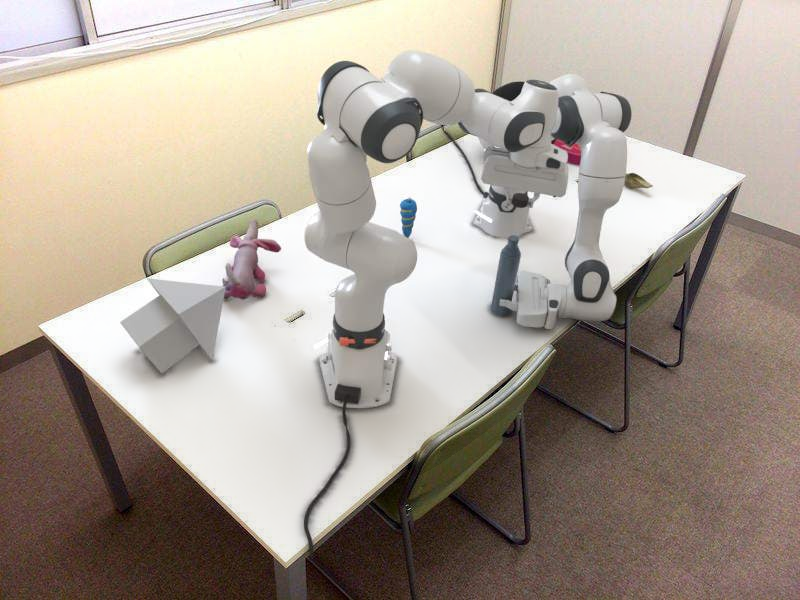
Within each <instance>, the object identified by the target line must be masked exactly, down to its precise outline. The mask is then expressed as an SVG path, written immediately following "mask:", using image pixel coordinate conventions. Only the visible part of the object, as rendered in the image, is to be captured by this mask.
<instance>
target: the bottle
mask: <svg viewBox="0 0 800 600" xmlns="http://www.w3.org/2000/svg"><path fill="white" fill-rule="evenodd" d="M519 237H520V236H515V235H511V236H509V237H508V238H507V243H506V244H505V246H504V247H503V248H502V249H501V251H500V254H499V259H498V265H497V269H496V270H497V271H496V276H495V281H494V287H493V288H494V289H493V292H492V293H493V294H492V299H491V305H490V311H491V312H492V313H493V314H494V315H496V316H502V317H503V316H507V315H508V314H510V313H511V309H509V308H507V307H505V306H500V305H499V303H500V298H501V297H502V298H507V300H509V301H511V302H513V299H514V293H515V291H514V288H515V283H516V280H517V275H518V272H519V268H520V264H521V257H522V253H521V250H520V247H519V242H520V238H519Z"/></svg>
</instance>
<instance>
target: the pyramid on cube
mask: <svg viewBox="0 0 800 600" xmlns="http://www.w3.org/2000/svg"><path fill="white" fill-rule="evenodd" d="M146 280H147V281H148V283H149V284H150V285H151V286H152V288H153V289H154V290H155V292H156V293H157V295H158V296H156V297H154V298H153V299H151V301H149V302H148V303H146V304H145V305H143V306H142V307H140V308H138V309H137V310H136V311H134V312H132V313H131V314H130V315H128V316H126V317H125V318H124V319H122V320H121V321H120V322H119V324H120V325H121V326H122V328H124V330H125V331H126V332H127V334H128V335H129V337H130V338H131V339H132V341H133V342H134V343H135V344H136V346H137V347H138V348H139V349H140V350H141V352H142V353H143V354H144V355H145V356H146V358H148V360H149V361H150V362H151V363H152V365H153V366H155V368H156V369H157V370H158V371H159V372H160V374H164V373H165V372H166V371H167V370H169V369H170V368H171V367H173V366H174V365H175V364H176V363H178V362H179V361H181V360H182V359H183V358H184V357H185V356H187V355H188V354H189V353H191V352H192V351H193V350H195V349H196V348H197V347H198V346H199V347H200V348H201V350H203V351H204V353H205V354H206V355H207V356H208V358H209V359H210V360H211V361H213V360H214V354H215V348H216V344H217V338H218V332H219V328H220V327H219V326H220V323H221V322H220V321H221V316H222V310H223V304H224V299H225V298H224V294H225V288H226V287H223V286H222V285H215V284H213V285H212V284H203V283H194V282H186V281H185V282H184V281H177V280H176V281H175V280H167V279H157V278H148V277H146Z"/></svg>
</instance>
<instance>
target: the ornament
mask: <svg viewBox="0 0 800 600" xmlns="http://www.w3.org/2000/svg"><path fill="white" fill-rule="evenodd" d="M399 207H400V211H399V212H400V213H399V214H400V216H401V218H400V222H401V230H402V235H404V236H406V237H407V238H410V236H411V234H412V232H413V227H414V223H415V220H416V218H417V217H416V214H417V212H418V205H417V202H416V200H414V199H412V197H411V196H410V195H409V197H408V198H405V199H403V200H401V201H400V204H399Z"/></svg>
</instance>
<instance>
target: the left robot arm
mask: <svg viewBox="0 0 800 600" xmlns="http://www.w3.org/2000/svg"><path fill="white" fill-rule="evenodd" d="M385 72H386V73H385V75H384V76H381V77H380V78H379V77H377V76H376V75H375V74H373V73H371V72H370V71H369V69H367V67H365V66H363V65H362V64H359V63H357V62H354V61H350V60H341V61H336V62H335V63H333V64H332V65H330V66H329V67H328V68H327V69H326V70H325V71H324V72H323V74H322V76H321V78H320V81H319V83H318V87H317V103H318V105H317V110H316V116H317V117H316V118H317V120H318V121H319V122H320V123H321V124H322V125H323V126H324V128H323V129H322V131H320V132H319V133H318V134H316V135H314V137H313V138H312V139H311V140H310V142H309V144H308V146H307V149H306V163H307V171H308V176H309V180H310V185H311V188H312V191H313V194H314V197H315V200H316V203H317V207H318V211H317V212H316V213H315V214H313V216H312V217H310V219H309V220H308V222H307V223H306V225H305V228H304V235H303V238H304V239H303V240H304V244H305V247H306V249H307V250H308V251H309V252H310V253H312V254H313V255H315V256H316V257H318V258H319V259H321V260H323V261H324V262H327V263H329V264H332V265H335V266H338V267H340V268H343V269H346V270H349V271H351V272H353V273H354V274H351V275H348V276H347V277H345V278H343V279H342V280H341V281H340V282H338V284H337V285H336V288H335V290H334V313H333V317H332V329H331V330H330V331H329V332H328V333H327V334H326V335H327V338H326V339H323V340H322V341H320V342H318V343H316V344H314V345H313V348H314V349H317V348H319V347H320V346H323V345H324V344H326V343H327V345H326V346H327V350H326V351H327V353H325V354H323V355H321V356H320V357H319V366H320V370H321V374H322V378H323V382H324V387H325V390H326V391H325V392H326V394H327V400H328V402H329V404H332V405H334V406H337V407H340V408H342V411H341V413H342V421H343V424H344V427H345V434H346V449H345V452H344V455H343V457H342V459H341V460H340V463H339V464H338V466H337V467H336V469H335V470H334V471H333V473H332V474H331V476H330V477H329V479H328V480H327V482H326V483H325V485H324V486H323V488H322V489H321V490H320V491H319V492H318V493H317V495H316V496H315V497H314V498H313V499H312V501H311V502H310V504H309V505H308V507H307V509H306V512H305V514H304V519H303V527H304V532H305V535H306V538H307V541H308V548H309V557H310V558H313V557H314V553H315V552H314V543H313V539H312V536H311V535H312V534H311V533H310V528H309V517H310V514H311V512H312V509H313V508H314V506H315V504H316V503H317V502H318V501H319V499H320V498H321V497H322V496H323V495H324V493H326V491H327V490H328V489H329V487H330V486H331V484H332V483H333V481H334V480H335V478H336V476H337V475H338V474H339V472H340V471H341V469H342V467H343V466H344V464H345V462H346V461H347V460H348V457H349V453H350V448H351V434H350V431H349V429H348V421H347V414H346V413H347V412H346V411H347V409H371V408H376V407H377V408H378V407H381V406H383V405H387V404H388V403H389V402H390V401H391V396H392V391H393V386H394V382H395V381H394V380H395V376H396V370H397V364H398V357H397V356H396V355H395V354H393V353H391V352H392V345H390V344H391V343H390V341H391V339H390V338H391V334H390V332H389V331H387V330H386V318H385V313H384V307H385V299H386V294H387V291H388V290H389V289H390V288H391V287H392V286H394V285H396V284H400V283H402V282H404V281H405V280H407V279H408V278H409V277H410V276H411V275H412V273H413V272H414V270H415V269H416V266H417V264H418V263H417V262H418V250H417V247H416V244H415V242H414V240H412V239H411V238H410V237H408V238H407V237H406V236H404V234H403V233H401V232H398V230H395V229H392V228H389V227H386V226H383V225H380V224H377V223H373V222H370V221H371V220H372V219H373V217H374V215H375V213H376V208H377V199H376V195H375V192H374V187H373V183H372V179H371V174H370V170H369V168H368V165H367V164H368V163H367V160H368V158H367V157H369V158H371V159H373V160H374V161H377V162H379V163H382V164H393V163H395V162H398V161H400V160H402V159H403V158H405V157H406V156H407V155H408V154H409V153H411V151H412V150H413V149H414V147H415V145H416V143H417V141H418V138H419V136H420V133H421V129H422V125H423V122H424V121H427V122H429V123H432V124H436V125H439V126H440V125H441V126H442V125H444V126H446V127H447V126H449V127H451V126H452V127H453V126H456V125H458V126H459V128H460V129H461V131H462V132H464V133H466V134H468V135H471V136H474V137H476V138H477V139H478V138H481V139H483V140H485V141H487V142H489V143H491V144H493V145H495V146H491V147H488V148H486V149H485V148H484V150H483V155H482V160H483V162H484V165H483V167H482V172H481V176H480V180H481V182H482V183H483V184H485V185H489V186H490V185H495V186H501V187H504V189H503V191H504V193H505V196H506V197H507V199H506V204H512V200H513V195H510V192H509V190H510V188H512V189H517V190H523V191H528V193H533V196H532V197H529V200H528V202H527V207H528V208H530V209H533V208H534V204H535V202H536V201H537V200H539V198H540V197H541V195H544V196H545V195H546V196H552V197H557V198H563V197H564V196H565V195H566V193H567V191H568V183H569V166H568V162H567V161H568V153H567V152H566V151H565V150H563V149H561V148H559V147H557V146H555V145H553V144H551V132H552V129H553V127H554V125H555V121H556V116H557V110H558V99H559V95H558V89H557V88H556V87H555V86H554V85H551V84H549V82H546V81H543V80H539V79H527V80H525V81H524V82H525V83H524V85H523V88H522V91H521V93H520V95H519V96H518V97H517V98H516V99H514V100H513V101H511V102H510V101H508V100H505V99H503V98H501V97H498V96H496V95H494V94H492V93H493V92H491V91H488V90H487V89H484V88H475V84H474V81H473V80H472V78H471V77H469V75H468V74H467V73H466V72H464V70H462V69H461V68H459V67H458V66H457V65H456V64H454V63H452V62H449V61H448V60H445V59H444V58H441V57H439V56H436V55H434V54H431V53H427V52H424V51H420V50H413V49H412V50H411V49H409V50H405V51H403V52H400V53H399V54H397V55H396V56H395V57H393V59H392V60H391V61H390V63H389V65H388V67H387V69H386V71H385Z"/></svg>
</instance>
